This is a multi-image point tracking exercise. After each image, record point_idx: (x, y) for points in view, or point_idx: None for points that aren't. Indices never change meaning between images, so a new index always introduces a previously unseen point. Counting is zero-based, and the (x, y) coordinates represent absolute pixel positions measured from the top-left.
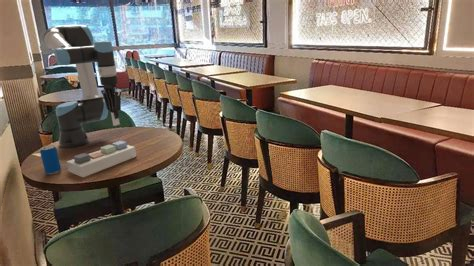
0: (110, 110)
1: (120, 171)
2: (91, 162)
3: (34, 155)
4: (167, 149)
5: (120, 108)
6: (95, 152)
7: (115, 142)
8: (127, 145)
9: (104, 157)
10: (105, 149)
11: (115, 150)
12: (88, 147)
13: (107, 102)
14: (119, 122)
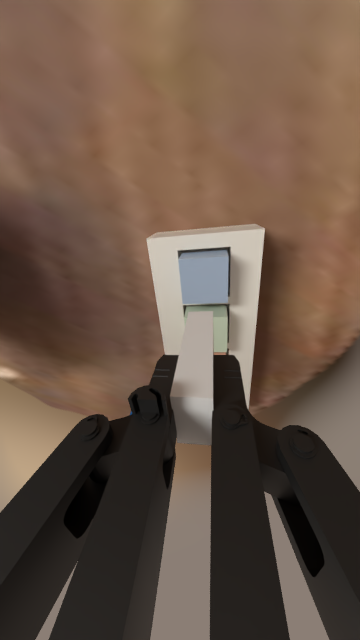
0: (167, 462)
1: (311, 333)
2: (246, 393)
3: (4, 379)
4: (352, 13)
5: (339, 468)
6: (172, 349)
7: (182, 289)
8: (209, 238)
9: (247, 359)
10: (222, 350)
11: (226, 309)
12: (15, 278)
13: (44, 604)
14: (212, 318)
